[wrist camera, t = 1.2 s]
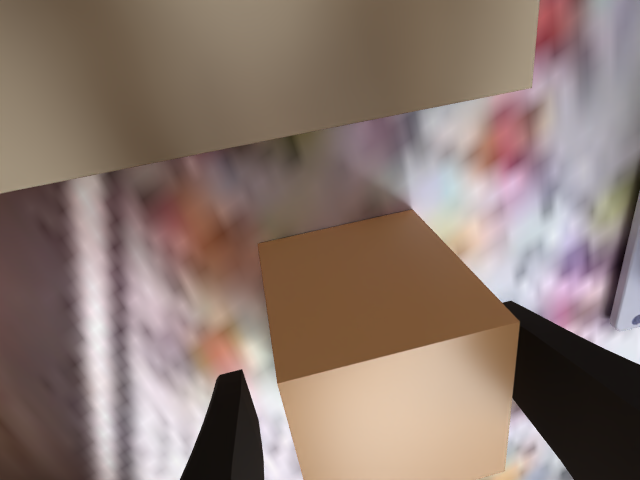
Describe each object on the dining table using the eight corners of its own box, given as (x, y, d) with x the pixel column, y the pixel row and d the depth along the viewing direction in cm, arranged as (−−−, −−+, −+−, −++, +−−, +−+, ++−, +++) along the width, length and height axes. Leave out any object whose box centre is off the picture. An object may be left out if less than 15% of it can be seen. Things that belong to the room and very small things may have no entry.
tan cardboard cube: (412, 209, 14) (520, 321, 9) (418, 329, 17) (504, 471, 12) (257, 243, 14) (277, 383, 9) (287, 362, 16) (316, 526, 11)
